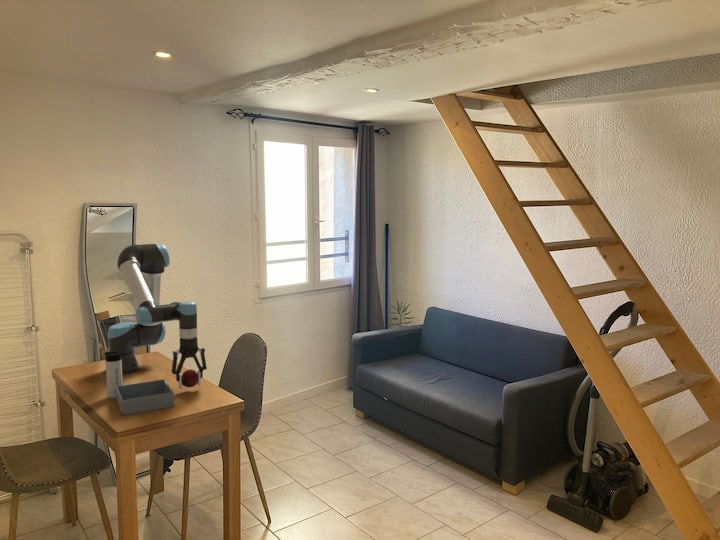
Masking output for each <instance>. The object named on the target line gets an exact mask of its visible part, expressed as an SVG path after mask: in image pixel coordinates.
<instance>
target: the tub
mask: <svg viewBox="0 0 720 540" xmlns="http://www.w3.org/2000/svg"><path fill="white" fill-rule="evenodd" d="M115 387H116V399H115V401H116V403H117V406H118V409H119V412H120V413H121V416H122V417H123V416H129V415H135V414H141V413H145V412H146V413H147V412H152V411H158V410H162V409H163V410H164V409H169V408H175V392H174V390H173V389H172V388H171V386H170V385H169V384H168V383H167V381H166V379H164V378H163V379H157V380H151V381H150V380H148V381H143V382H135V383H130V384H129V383H128V384H124V385H122V386H115Z"/></svg>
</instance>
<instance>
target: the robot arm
mask: <svg viewBox="0 0 720 540" xmlns="http://www.w3.org/2000/svg"><path fill="white" fill-rule="evenodd" d="M170 260H171V259H170V254H169V250H168V249H167V247H166V245H164V244H162V243H147V244H146V243H144V244H143V243H142V244H131V245H128V246H126V247H125V248H124V249H122V250H121V252H120V253H119V255H118V257H117V262H116V265H117V269H118V271H119V273H120V275H122V276H123V277H124V279H125V282H126V284H127V286H128V288H129V291H130V293H131V296H132V297H133V300H134V301H135V305H136V306H137V308H136V309H135V312H134V313H135V314H134V315H135V319H136V324H134V323H133V322H131V321H125V322H124V321H123V322H120V323H116V324H113V325H111V326H110V327H109V328H108V331H107V339H108V352H119V353H121V361H122V375H124V374H129V373H130V374H131V373H133V372H135V371H138V370H139V369H140V367H139V366H140V365H139V362H138V359H137V355H136V354H135V348H140V347H142V348H143V347H147V346H148V347H149V346H155V345H157V344H161V343H162V342H164V339H165V337H166V324H165V322H173V321H178V324H179V337H180V338H179V349H178V350H173V351H172V356H173V357H172V365H171V373H172V375H175V380H176V382H178V389H179V390H182V389H183V385H182V373H181V372H182V368H183V366H184V363H185V361H186V360H187V359H189V358H193V360H194V362H195V364H196V366H197V368H198V370H196V373H197V375H198V383H197V384H196V385H197V386H198V387H201V383H202V382H201V379H203V378H204V377H203V372H204V371H205V370H207V368H208V367H207V362H206V356H205V351H206V349H205V348H204V347H203V346H201V347H199V344H198V341H199V340H198V337H197V336H198V309H197V306H198V305H197V303H196V302H195V301H189V300H188V301H181V302H179V301H172V302H171V303H168V304H161V305H160V301H161V300H160V299H161V284H162V283H161V280H162V275H163V273H165V268H167V267H169V265H170V262H171V261H170ZM198 352H199V354H200V359H201V363H200V361H199V359H198V357H197V355H196V354H197V353H198ZM179 355H181V357H180V360H179V363H178V357H179ZM177 363H178V366H177ZM201 364H202V365H201Z"/></svg>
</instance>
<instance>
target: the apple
mask: <svg viewBox="0 0 720 540" xmlns="http://www.w3.org/2000/svg"><path fill="white" fill-rule="evenodd" d="M181 375H182V387H186V388H193V387H195V386H196V385H198V384H197V383H198V375H197V370H194V369H186V370H185V371H184V372H183V373H181Z"/></svg>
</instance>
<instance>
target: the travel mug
mask: <svg viewBox="0 0 720 540" xmlns="http://www.w3.org/2000/svg"><path fill="white" fill-rule="evenodd" d="M104 355H105V375H106V393H107V395H106V396H107V397H106V398H107V399H108V400H112V401H113V400H116V387H115V386H122V385H123V384H124V383H123V380H124V379H123V374H122V361H121V353H119V352H109V351H105V352H104Z"/></svg>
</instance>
